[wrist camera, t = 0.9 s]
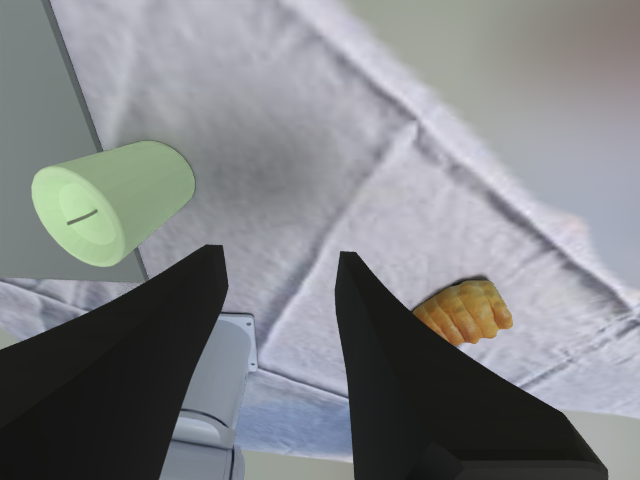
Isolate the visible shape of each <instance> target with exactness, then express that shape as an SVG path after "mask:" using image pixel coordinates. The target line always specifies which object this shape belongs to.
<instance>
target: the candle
mask: <svg viewBox="0 0 640 480" xmlns="http://www.w3.org/2000/svg"><path fill="white" fill-rule="evenodd" d="M31 188H32V200H33V203H34V207H35V210H36V212H37V214H38V216H39V218H40V220H41V222H42V224H43V225H44V226H45V228H46V229H47V231H48V232H49V234H50V235H51V236H52V237H53V238H54V239H55V240H56V242H57V243H58V244H59V245H60V246H61V247H63V248H64V249H65V250H66V251H67V252H68V253H70V254H71V255H73V256H74V257H76V258H77V259H79V260H81V261H83V262H85V263H88V264H90V265H94V266H99V267H109V266H113V265H115V264H117V263H119V262H120V261H121V260H122V259H123V258H124V257H126V256H127V255H128V254H129V253H130V252H131V251H132V250H134V249H135V248H136V247H137V246H138V245H139V244H141V243H142V242H143V241H144V240H145V239H146V238H147V237H149V236H150V235H151V234H152V233H153V232H154V231H155V230H157V229H158V228H159V227H160V226H161V225H162V224H163V223H165V222H166V221H167V220H168V219H169V218H170V217H171V216H173V215H174V214H175V213H176V212H177V211H178V210H180V209H181V208H182V207H183V206H184V205H185V204H186V203H188V201H189V200H190V199H191V198H192V196H193V193H194V191H195V179H194V175H193V172H192V170H191V168H190V166H189V164H188V163H187V162H186V160H185V159H184V158H183V157H182V156H181V155H180V154H179V153H178V152H176V151H175V150H174V149H173V148H171V147H169V146H167V145H165V144H163V143H159V142H156V141H140V142H136V143H133V144H129V145H125V146H122V147H118V148H115V149H111V150H107V151H104V152H100V153H96V154H93V155H89V156H86V157H82V158H78V159H75V160H71V161H67V162H64V163H60V164H57V165H53V166H49V167H46V168H43V169H41V170H40V171H39V172H38V173H37V174H36V175H35V176H34V180H33V183H32V186H31Z"/></svg>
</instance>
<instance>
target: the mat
mask: <svg viewBox="0 0 640 480" xmlns="http://www.w3.org/2000/svg"><path fill="white" fill-rule="evenodd" d="M100 152H103V150H102V148H101V145H100V142H99V139H98V136H97V134H96V131H95V128H94V125H93V122H92V120H91V117H90V114H89V111H88V108H87V106H86V103H85V100H84V97H83V94H82V92H81V89H80V86H79V83H78V80H77V78H76V75H75V72H74V69H73V66H72V64H71V61H70V58H69V55H68V52H67V50H66V47H65V44H64V41H63V38H62V36H61V33H60V30H59V27H58V25H57V22H56V19H55V16H54V13H53V11H52V8H51V5H50V2H49V0H0V277H8V278H33V279H58V280H82V281H107V282H132V283H145V282H147V281H148V280H149V279H148V276H147V273H146V271H145V268H144V265H143V262H142V259H141V257H140V254H139V251H138V248H137V247H136V248H135V249H134V250H132V251H131V252H130V253H129V254H128V255H127V256H126V257H124V258H123V259H122V260H121V261H120V262H119V263H117V264H115V265H113V266H109V267H99V266H94V265H90V264H88V263H85V262H83V261H81V260H79V259H77V258H76V257H74V256H73V255H71V254H70V253H68V252H67V251H66V250H65V249H64V248H63V247H61V246H60V245H59V244H58V243H57V242H56V240H55V239H54V238H53V237H52V236H51V235H50V234H49V232H48V231H47V229H46V228H45V226H44V225H43V224H42V222H41V220H40V218H39V216H38V214H37V212H36V210H35V207H34V203H33V200H32V188H31V186H32V183H33V180H34V176H35V175H36V174H37V173H38V172H39V171H40V170H41V169H43V168H46V167H49V166H53V165H57V164H60V163H64V162H67V161H71V160H75V159H78V158H82V157H86V156H89V155H93V154H96V153H100Z"/></svg>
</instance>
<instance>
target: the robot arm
mask: <svg viewBox="0 0 640 480" xmlns="http://www.w3.org/2000/svg"><path fill="white" fill-rule="evenodd" d="M228 287H229V285H228V278H227V271H226V264H225V258H224V251H223V245H207V244H206V245H205V246H203V247H201V248H199V249H198V250H196V251H195V252H193V253H191V254H190V255H188V256H187V257H185V258H184V259H182V260H181V261H179V262H177V263H176V264H174V265H173V266H171V267H170V268H168V269H166V270H165V271H163V272H162V273H160V274H159V275H157V276H155V277H153V278H152V279H150V280H148V281H147V282H145V283H143V284H141V285H140V286H138V287H136V288H135V289H133V290H131V291H129V292H128V293H126V294H124V295H122V296H120V297H118V298H116V299H114V300H113V301H111V302H109V303H107V304H105V305H103V306H101V307H99V308H97V309H95V310H92V311H90V312H88V313H86V314H84V315H82V316H80V317H78V318H75V319H73V320H71V321H68V322H66V323H64V324H61V325H59V326H57V327H55V328H52V329H50V330H48V331H45V332H43V333H41V334H39V335H36V336H34V337H31V338H29V339H27V340H24V341H21V342H19V343H16V344H14V345H11V346H9V347H6V348H4V349H1V350H0V480H244V470H245V463H244V457H243V455H242V451H241V448H240V446H238V445H234V440H235V436H236V430H234V429H235V427H236V424H237V421H238V416H239V412H240V408H241V403H242V399H243V394H244V390H245V386H246V381H247V377H248V372H249V371H253V372H254V371H257V369H258V361H257V349H256V337H255V325H254V317H253V316H252V315H241V314H220V312H221V310H222V307H223V304H224V301H225V298H226V294H227V290H228ZM335 306H336V316H337V322H338V328H339V334H340V339H341V345H342V351H343V356H344V362H345V367H346V375H347V383H348V395H349V406H350V420H351V433H352V447H353V463H354V478H355V480H608V470H607V468H606V467H605V466H604V464H603V463H602V462H601V460H600V459H599V458H598V457H597V455H596V454H595V453H594V452H593V450H592V449H591V448H590V447H589V445H588V444H587V443H586V441H585V440H584V439H583V438H582V436H581V435H580V434H579V433H578V431H577V430H576V429H575V427H574V426H573V425H572V424H571V422H570V421H569V420H568V419H567V417H566V416H565V415H564V414H563V413H562V412H560V411H559V410H557V409H555V408H553V407H552V406H550V405H548V404H546V403H545V402H543V401H541V400H539V399H538V398H536V397H534V396H532V395H531V394H529V393H527V392H525V391H524V390H522V389H520V388H518V387H517V386H515V385H513V384H512V383H510V382H508V381H506V380H505V379H503V378H502V377H500V376H498V375H497V374H495V373H494V372H492V371H491V370H489V369H487V368H486V367H484V366H483V365H481V364H480V363H478V362H476V361H475V360H473V359H472V358H471V357H469V356H468V355H466V354H465V353H463V352H462V351H460V350H459V349H457V348H456V347H455V346H453V345H452V344H451V343H449V342H448V341H447V340H445V339H444V338H442V337H441V336H440V335H438V334H437V333H436V332H435V331H433V330H432V329H431V328H429V327H428V326H427V325H426V324H425V323H423V322H422V321H421V320H420V319H419V318H417V317H416V316H415V315H414V314H413V313H412V312H410V311H409V310H408V309H407V308H406V307H405V306H404V305H403V304H402V303H401V302H400V301H399V300H398V299H397V298H396V297H395V296H394V295H393V294H392V293H391V292H390V291H389V290H388V289H387V288H386V287H385V286H384V285H383V284H382V283H381V282H380V280H379V279H378V278H377V277H376V276H375V275H374V274H373V272H372V271H371V270H370V269H369V268H368V266H367V265H366V264H365V263H364V261H363V260H362V259H361V258H360V257H359V255H358V254H357V253H356V252H345V251H340V257H339V264H338V271H337V278H336V285H335ZM248 322H249V323H248Z"/></svg>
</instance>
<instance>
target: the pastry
mask: <svg viewBox="0 0 640 480" xmlns="http://www.w3.org/2000/svg"><path fill="white" fill-rule="evenodd" d="M413 314H414V315H415V316H416V317H417V318H419V319H420V320H421V321H422V322H423V323H425V324H426V325H427V326H428V327H429V328H431V329H432V330H433V331H435V332H436V333H437V334H438V335H440V336H441V337H442V338H444V339H445V340H447V341H448V342H449V343H451V344H453V345H455V346H457V345H459V344H461V343H464V342H468V343H472V344H476V343H477V342H478V341H479V339H480V338H490V339H491V338H494V337H495V336H496V334H497V331H498V330H499V329H509V328H511V327H512V326H513V320H512V315H511V313H510V312H509V310H508V309H507V306H506V304H505V303H504V301H503V299H502V297H501V296H500V294H499V292H498V290H497V289H496V287H495V286H494V283H492V282H491V281H479V280H468V281H463V283H461V284H459V285H456V286H450V287H448V288H447V289H445V290H443V291H441V292H440V293H439V294H436V295H434V296H433V297H432V298H430V299H428V300H427V301H425V302H424V303H422V304H421V305H419V306H418V307H417V308H416V309H415V310H414V311H413Z"/></svg>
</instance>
